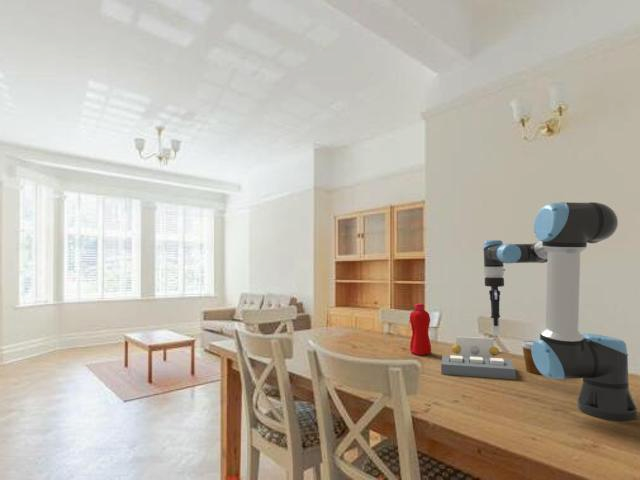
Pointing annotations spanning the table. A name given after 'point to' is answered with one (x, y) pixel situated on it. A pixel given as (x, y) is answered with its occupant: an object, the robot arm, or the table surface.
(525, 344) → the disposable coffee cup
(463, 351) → the pattern sign
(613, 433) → the table surface
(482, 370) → the button board
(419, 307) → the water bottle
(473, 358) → the button middle
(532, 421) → the table surface
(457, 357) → the button left
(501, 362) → the button right
